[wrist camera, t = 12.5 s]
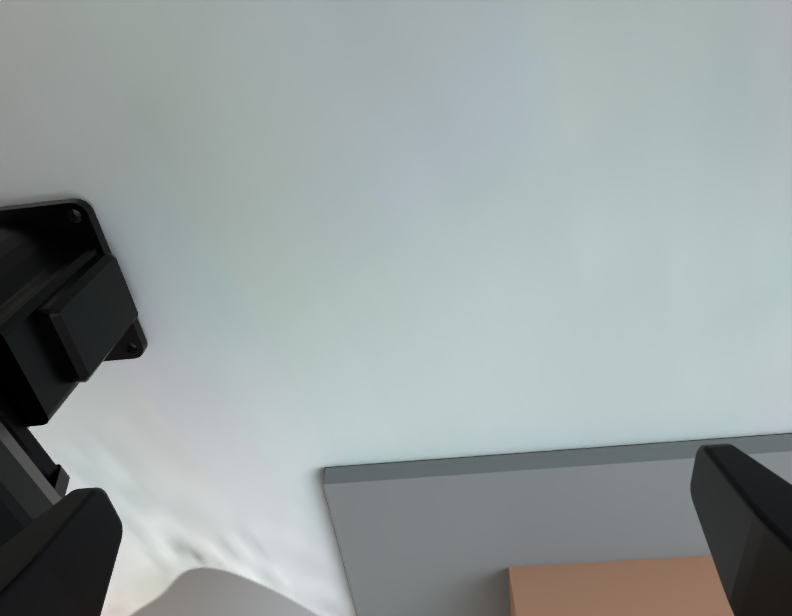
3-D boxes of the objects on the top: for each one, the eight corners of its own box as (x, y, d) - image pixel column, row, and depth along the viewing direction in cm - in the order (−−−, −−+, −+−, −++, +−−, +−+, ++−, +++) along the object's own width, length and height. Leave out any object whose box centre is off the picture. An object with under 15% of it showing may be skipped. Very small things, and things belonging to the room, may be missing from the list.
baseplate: (379, 679, 36) (378, 697, 35) (325, 467, 27) (322, 484, 26) (753, 663, 34) (763, 681, 33) (831, 430, 25) (846, 447, 24)
